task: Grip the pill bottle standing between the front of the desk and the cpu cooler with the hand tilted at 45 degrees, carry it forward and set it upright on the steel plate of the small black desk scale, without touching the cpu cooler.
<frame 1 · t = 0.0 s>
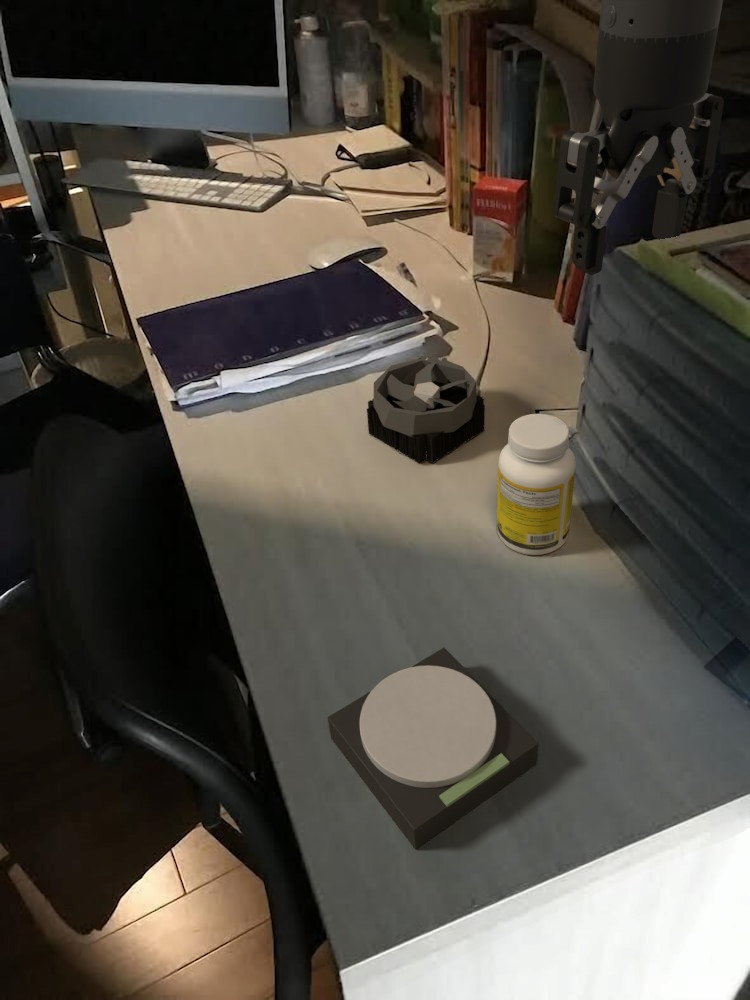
hand: (627, 254, 65), 21 cm above the table, tool pointing down, fingers open, 8 cm apart
cpu cooler: (426, 432, 85), on the table
pill bottle: (531, 534, 73), on the table
scale: (431, 751, 57), on the table
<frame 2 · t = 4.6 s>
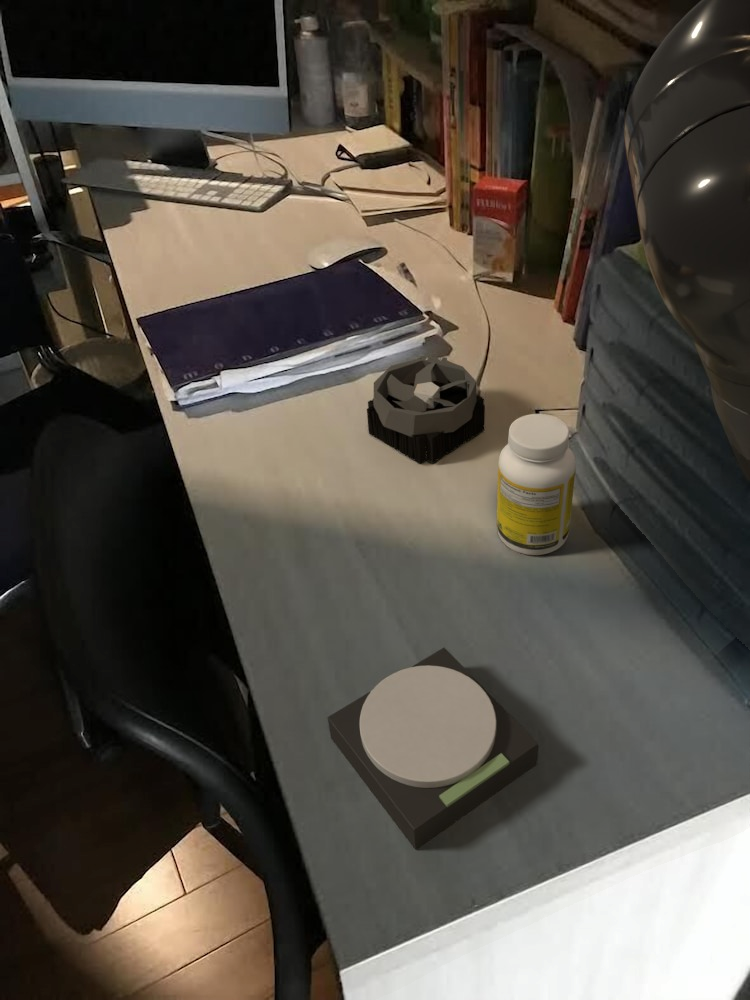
nothing on the table moved.
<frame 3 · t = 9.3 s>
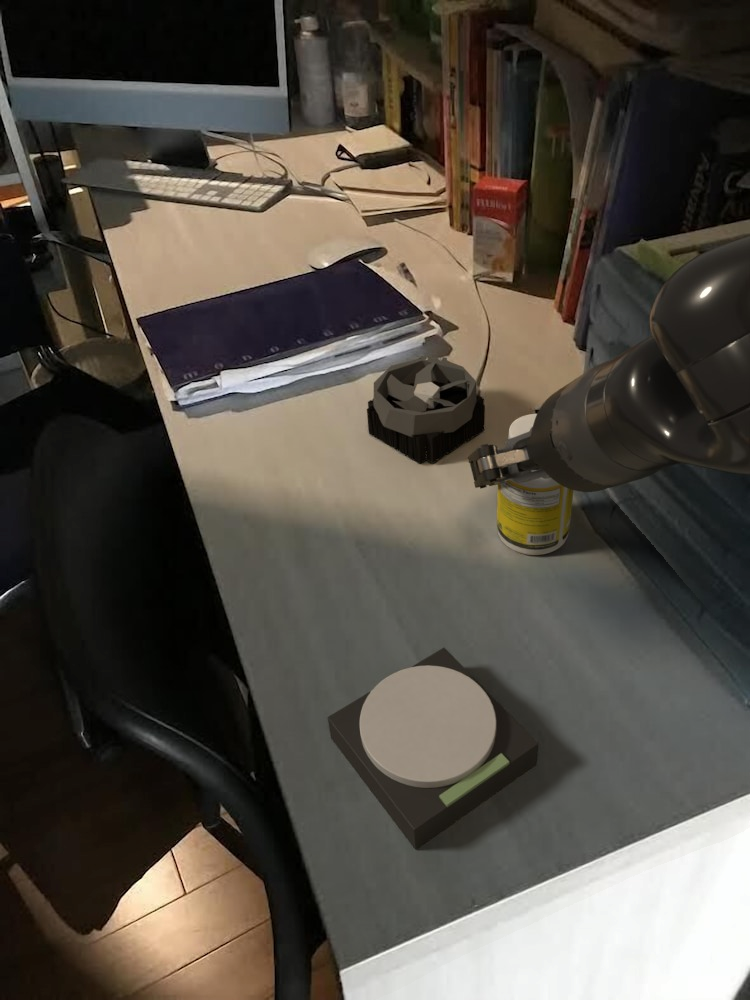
hand: (527, 464, 70), 6 cm above the table, tool tilted 45°, fingers closed on pill bottle, 6 cm apart
pill bottle: (531, 534, 73), on the table, touching gripper
everything else where it was.
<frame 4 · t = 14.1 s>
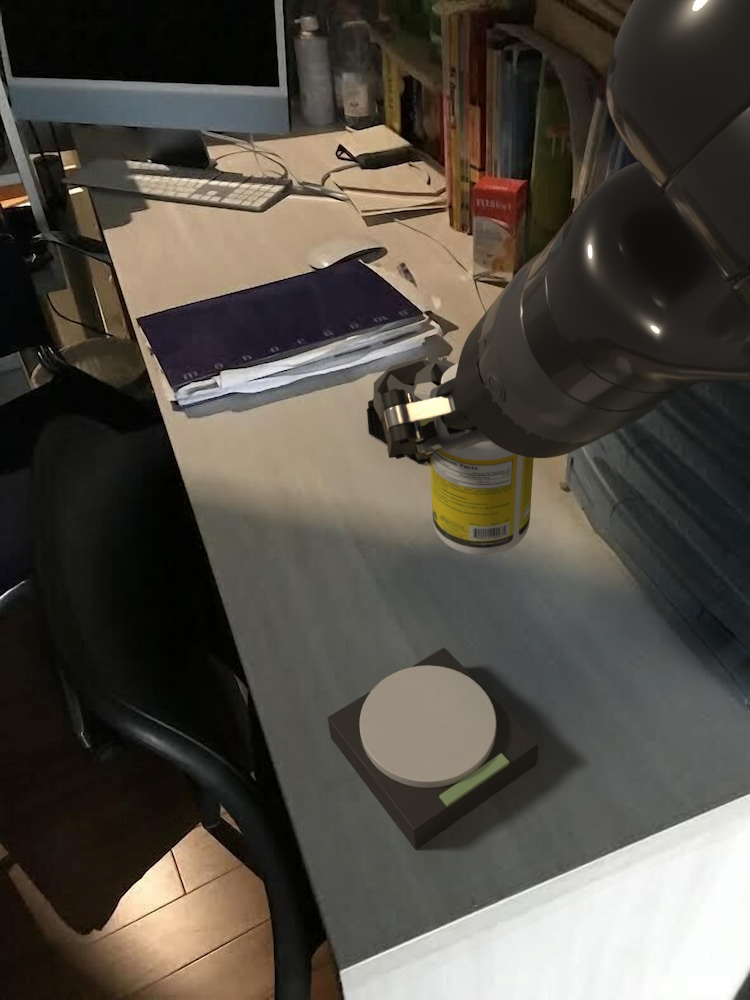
hand: (471, 431, 51), 20 cm above the table, tool tilted 45°, fingers closed on pill bottle, 6 cm apart
pill bottle: (480, 528, 54), point 13 cm above the table, touching gripper
everything else where it was.
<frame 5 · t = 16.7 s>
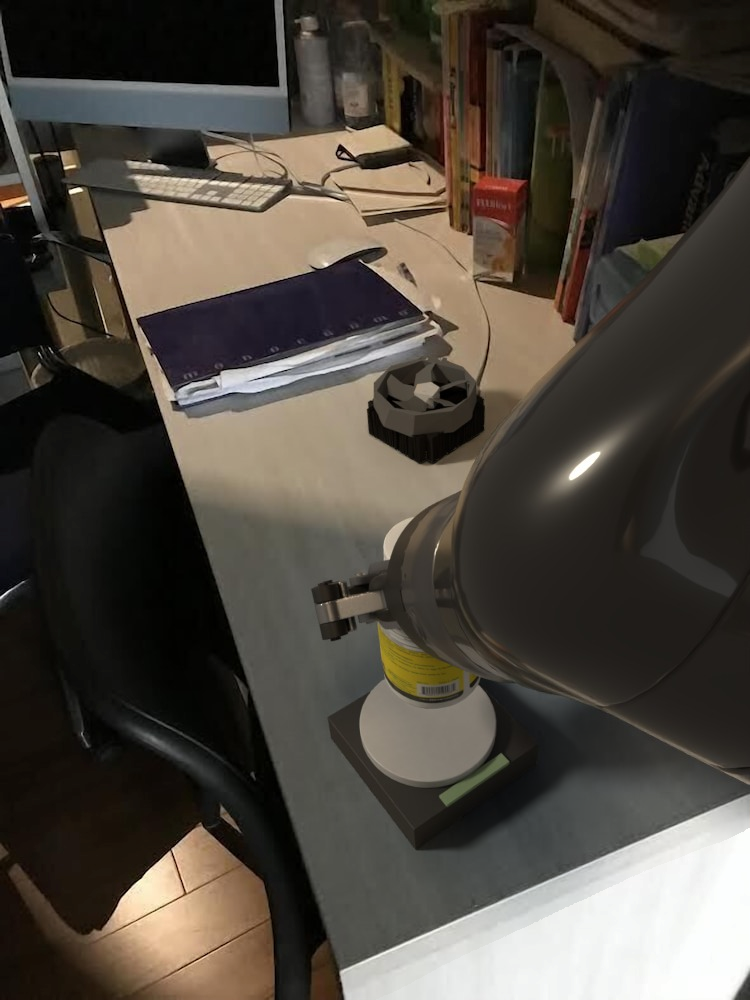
hand: (420, 581, 49), 14 cm above the table, tool tilted 45°, fingers closed on pill bottle, 6 cm apart
pill bottle: (432, 673, 52), point 8 cm above the table, touching gripper
everything else where it was.
when the fingers open (10 cm above the table, at t = 18.7 s): pill bottle stays where it is, resting on scale.
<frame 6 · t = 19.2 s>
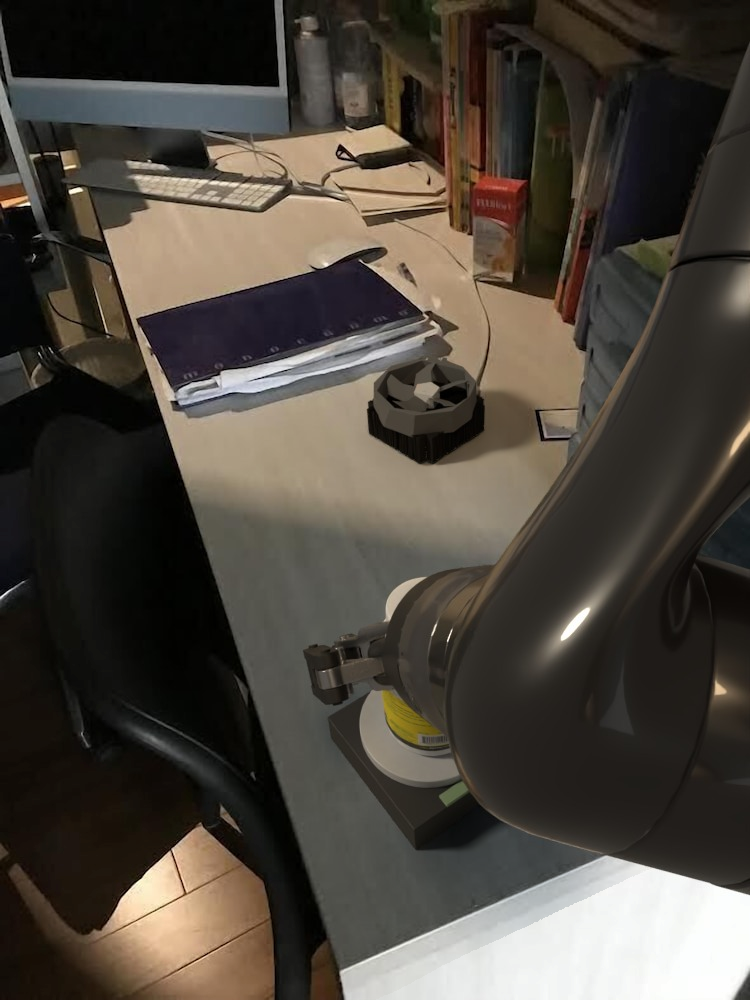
hand: (416, 634, 51), 10 cm above the table, tool tilted 45°, fingers open, 8 cm apart
pill bottle: (431, 720, 55), point 3 cm above the table, touching scale
everything else where it was.
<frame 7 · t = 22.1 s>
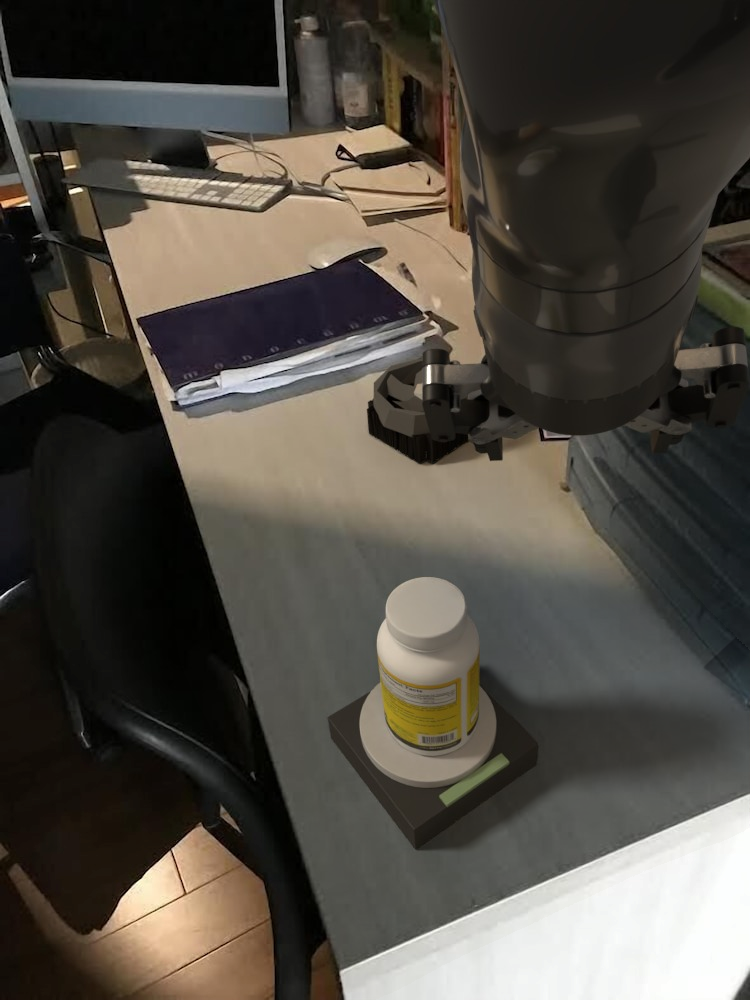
hand: (574, 440, 46), 22 cm above the table, tool tilted 35°, fingers open, 8 cm apart
nothing on the table moved.
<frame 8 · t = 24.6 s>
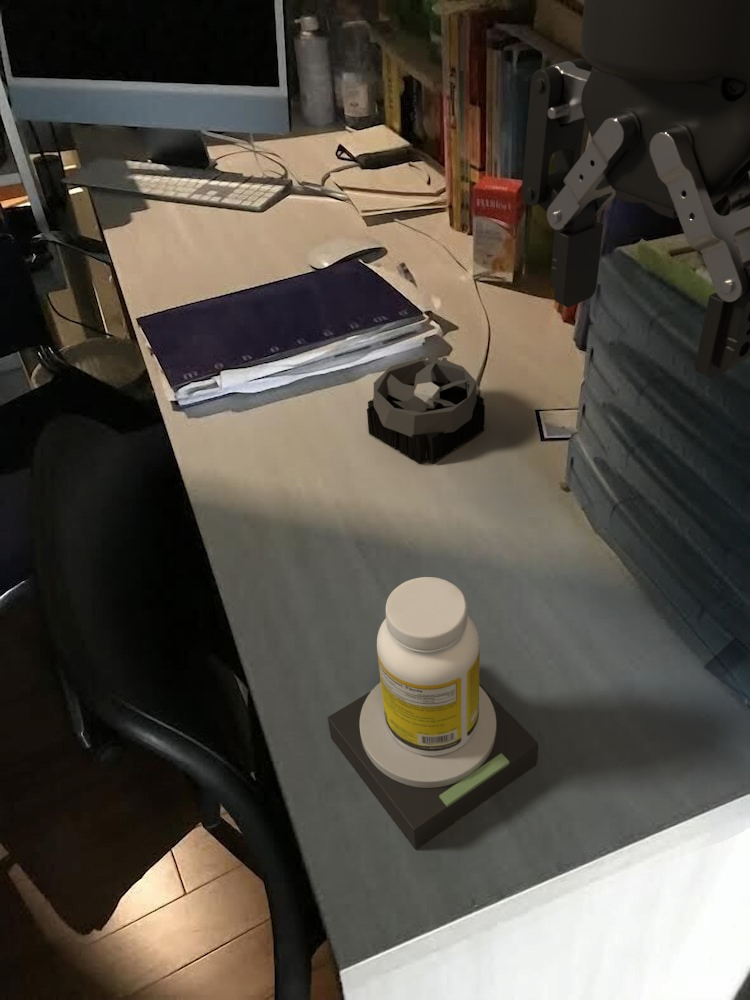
hand: (639, 332, 39), 30 cm above the table, tool pointing down, fingers open, 8 cm apart
nothing on the table moved.
at the end: pill bottle inside the target area on the scale (0.3 cm from its centre), point 3.1 cm above the scale's base; pill bottle tilted 0°; cpu cooler moved 0.2 cm from its start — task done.
